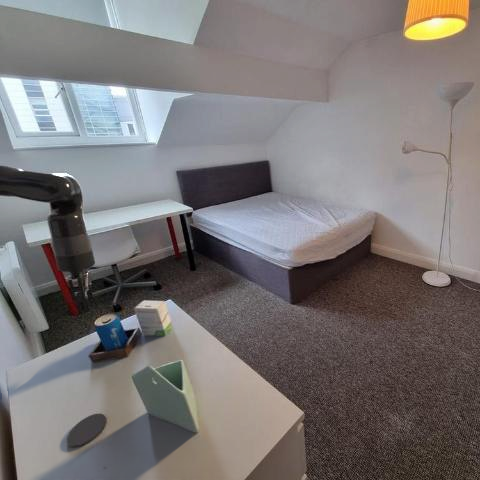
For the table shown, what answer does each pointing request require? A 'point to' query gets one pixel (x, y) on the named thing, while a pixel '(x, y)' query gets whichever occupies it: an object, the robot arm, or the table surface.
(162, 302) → the ink box
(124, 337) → the beverage can
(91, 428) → the coaster
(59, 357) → the table surface
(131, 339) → the tray
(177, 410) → the planter
